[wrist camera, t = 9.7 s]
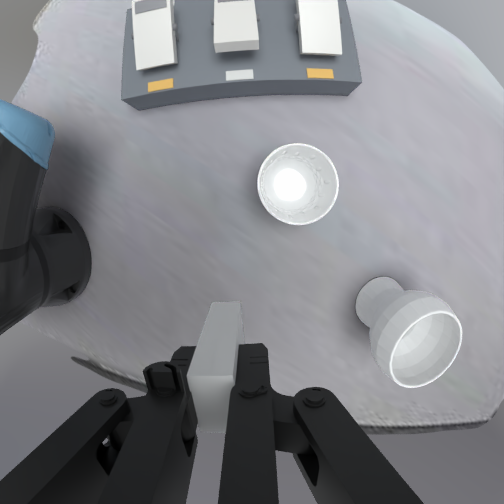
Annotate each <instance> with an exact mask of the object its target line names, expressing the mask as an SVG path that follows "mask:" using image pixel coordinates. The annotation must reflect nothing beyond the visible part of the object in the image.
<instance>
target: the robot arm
mask: <svg viewBox="0 0 504 504" xmlns="http://www.w3.org/2000/svg"><path fill="white" fill-rule="evenodd" d="M54 138H55V131H54V128H53V126H52V124H51V123H50V122H49V121H48V120H46V119H44V118H42V117H40V116H38V115H36V114H34V113H31V112H29V111H27V110H25V109H22V108H20V107H18V106H16V105H13V104H11V103H8V102H6V101H3V100H1V99H0V335H1V334H2V333H4V332H5V331H6V330H8V329H9V328H11V327H12V326H13V325H15V324H16V323H18V322H19V321H20V320H22V319H23V318H25V317H26V316H27V315H29V314H30V313H32V312H33V311H35V310H36V309H38V308H39V307H47V306H57V305H63V304H66V303H68V302H70V301H71V300H73V299H74V298H76V297H77V296H78V295H79V294H81V292H82V291H83V290H84V288H85V287H86V285H87V283H88V280H89V276H90V271H91V254H90V248H89V244H88V241H87V238H86V236H85V234H84V232H83V230H82V228H81V226H80V225H79V223H78V222H77V221H76V220H75V219H74V218H73V217H72V216H71V215H70V214H69V213H67V212H66V211H64V210H62V209H60V208H56V207H46V208H41V209H37V210H36V207H37V203H38V199H39V195H40V191H41V187H42V183H43V180H44V176H45V173H46V170H48V167H49V165H48V161H49V157H50V153H51V149H52V146H53V142H54ZM143 374H144V377H145V381H146V384H147V388H148V392H147V394H146V396H141V397H136V398H127V397H126V395H125V393H124V392H123V391H121V390H119V389H114V388H111V389H105V390H102V391H99V392H98V393H96V394H95V395H94V396H93V397H92V398H90V399H89V400H88V401H87V402H86V403H85V404H84V405H83V406H82V407H81V408H80V409H79V410H77V411H76V412H75V413H74V414H73V415H72V416H71V417H70V418H69V419H67V420H66V421H65V422H64V423H63V424H62V425H61V426H60V427H59V428H58V429H56V430H55V431H54V432H53V433H52V434H51V435H50V436H49V437H48V438H47V439H46V440H44V441H43V442H42V443H41V444H40V445H39V446H38V447H37V448H36V449H35V450H34V451H32V452H31V453H30V454H29V455H28V456H27V457H26V458H25V459H24V460H23V461H22V462H20V464H18V465H17V466H16V467H15V468H14V469H13V470H12V471H11V472H9V473H8V474H7V475H6V476H5V477H4V478H3V479H2V480H1V481H0V504H186V499H187V494H188V489H189V484H190V478H191V473H192V468H193V463H194V458H195V453H196V448H197V443H198V440H197V435H196V428H197V423H198V427H199V431H200V432H221V433H223V432H224V433H226V435H225V444H224V453H223V463H222V471H221V480H220V490H219V499H218V504H279V500H278V485H277V469H276V455H275V450H278V451H284V452H290V453H293V457H294V459H295V461H296V463H297V465H298V467H299V469H300V471H301V472H302V474H303V476H304V478H305V480H306V482H307V484H308V486H309V488H310V490H311V492H312V494H313V496H314V498H315V500H316V502H317V503H318V504H423V502H422V501H421V500H420V498H419V497H418V496H417V495H416V494H415V493H414V491H413V490H412V489H411V488H410V487H409V485H408V484H407V483H406V482H405V481H404V480H403V478H402V477H401V476H400V475H399V474H398V472H397V471H396V470H395V469H394V468H393V466H392V465H391V464H390V463H389V462H388V460H387V459H386V458H385V457H384V456H383V454H382V453H381V452H380V451H379V449H378V448H377V447H376V446H375V445H374V444H373V442H372V441H371V440H370V439H369V437H368V436H367V435H366V434H365V432H364V431H363V430H362V429H361V427H360V426H359V425H358V424H357V422H356V421H355V420H354V419H353V417H352V416H351V415H350V414H349V412H348V411H347V410H346V409H345V407H344V406H343V405H342V404H341V402H340V401H339V400H338V399H337V397H336V396H335V395H334V394H333V393H332V392H331V391H329V390H327V389H324V388H320V387H311V388H306V389H303V390H301V391H299V392H298V393H297V394H296V395H295V397H292V396H286V395H282V394H279V393H277V392H276V391H274V390H273V389H272V387H271V385H270V375H269V362H268V349H267V348H266V347H265V346H264V345H263V344H262V343H257V344H245V343H244V331H243V320H242V308H241V301H226V302H212V303H211V306H210V309H209V312H208V315H207V318H206V320H205V323H204V326H203V329H202V332H201V335H200V338H199V341H198V344H197V346H181V347H180V348H179V349H178V350H177V351H175V352H174V354H173V356H172V359H171V361H170V362H167V361H165V362H157V363H153V364H151V365H149V366H147V367H146V368H145V369H144V370H143ZM106 438H107V439H108V442H107V443H106V444H104V445H103V443H102V442H103V441H104V440H105V439H106Z"/></svg>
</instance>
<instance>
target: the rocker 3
mask: <svg viewBox="0 0 504 504" xmlns="http://www.w3.org/2000/svg"><path fill="white" fill-rule="evenodd" d="M296 9H297V14H294V20H295V21H298V33H299V46H300V54H307V55H330V56H340V55H342V43H341V30H340V24H341V23H342V18H341V17H339V9H338V0H296Z"/></svg>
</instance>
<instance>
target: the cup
mask: <svg viewBox="0 0 504 504" xmlns="http://www.w3.org/2000/svg"><path fill="white" fill-rule="evenodd" d="M355 308H356V313H357V316H358V317H359V319H360V320H361V321H362V322H363V323H364V324H365V325H367V326H368V327H369V328H370V332H369V338H370V346H371V352H372V356H373V358H374V359H375V361H376V363H377V365H378V366H379V368H380V369H381V371H382V372H383V373H384V374H385V375H387V376H388V377H389V378H390V379H392V380H393V381H394V382H396V383H397V384H398V385H400V386H403V387H407V388H416V387H420V386H424V385H426V384H428V383H430V382H432V381H434V380H435V379H437V378H438V377H439V376H441V375H442V374H443V373H444V372H445V371H446V370H447V369H448V368H449V366H450V365H451V364H452V362H453V361H454V359H455V358H456V355H457V353H458V351H459V349H460V345H461V341H462V328H461V324H460V321H459V320H458V318H457V317H456V315H455V314H454V312H453V311H452V309H451V308H450V307H449V305H448V304H447V303H446V302H445V301H443V300H442V299H440V298H439V297H437V296H435V295H434V294H432V293H430V292H425V291H418V290H406V291H404V290H403V288H402V287H401V286H400V285H399V284H398V283H397V282H396V281H395V280H394V279H392V278H389V277H378V278H375V279H372V280H371V281H369V282H368V283H366V284H365V286H364V287H363V288H362V289H361V290H360V292H359V294H358V296H357V299H356V307H355Z"/></svg>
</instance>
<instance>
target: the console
mask: <svg viewBox="0 0 504 504" xmlns="http://www.w3.org/2000/svg"><path fill="white" fill-rule="evenodd" d="M254 2H255V10H256V14H260V21H257V27H258V36H259V50H242V51H229V52H219V53H216V52H215V47H214V25H211V18H214V0H173V8H174V23H177V26H178V30H175V38H176V50H177V62H178V63H177V64H171V65H165V66H160V67H155V68H150V69H145V70H136V60H135V48H134V40H133V39H132V37H131V34H132V33H133V19H132V8H131V9H127V16H126V25H125V36H124V48H123V64H122V89H121V100H123V101H124V102H126V103H128V104H129V105H131V106H132V107H134V108H136V109H137V110H143V109H149V108H154V107H160V106H166V105H172V104H179V103H185V102H193V101H201V100H209V99H219V98H230V97H243V96H259V95H291V94H311V95H343V96H348V95H349V94H350V93H351V92H352V91H353V90H354V89H355V88H357V87H358V86H359V85H360V84H361V83H362V78H361V72H360V66H359V60H358V54H357V49H356V44H355V39H354V34H353V29H352V24H351V20H350V15H349V11H348V7H347V3H346V0H338V9H339V17H341V18H342V23H341V24H340V30H341V43H342V55H340V56H330V55H307V54H300V46H299V33H298V21H295V20H294V14H297V9H296V0H254Z"/></svg>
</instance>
